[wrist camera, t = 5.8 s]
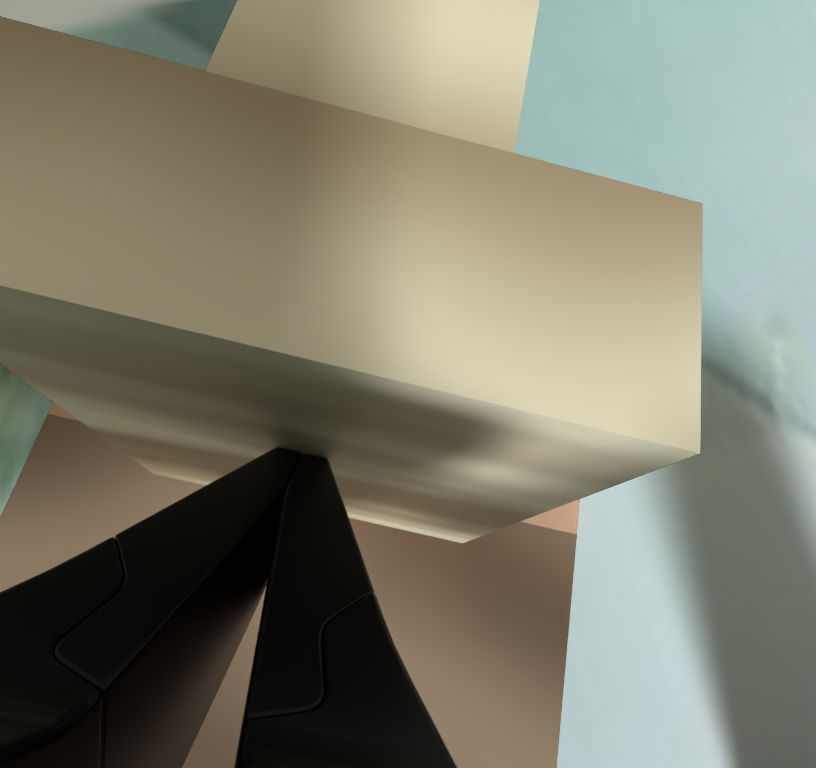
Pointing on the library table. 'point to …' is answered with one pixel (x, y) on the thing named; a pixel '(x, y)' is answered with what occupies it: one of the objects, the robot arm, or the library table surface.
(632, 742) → the library table surface
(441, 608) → the board
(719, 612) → the library table surface
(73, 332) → the T block
